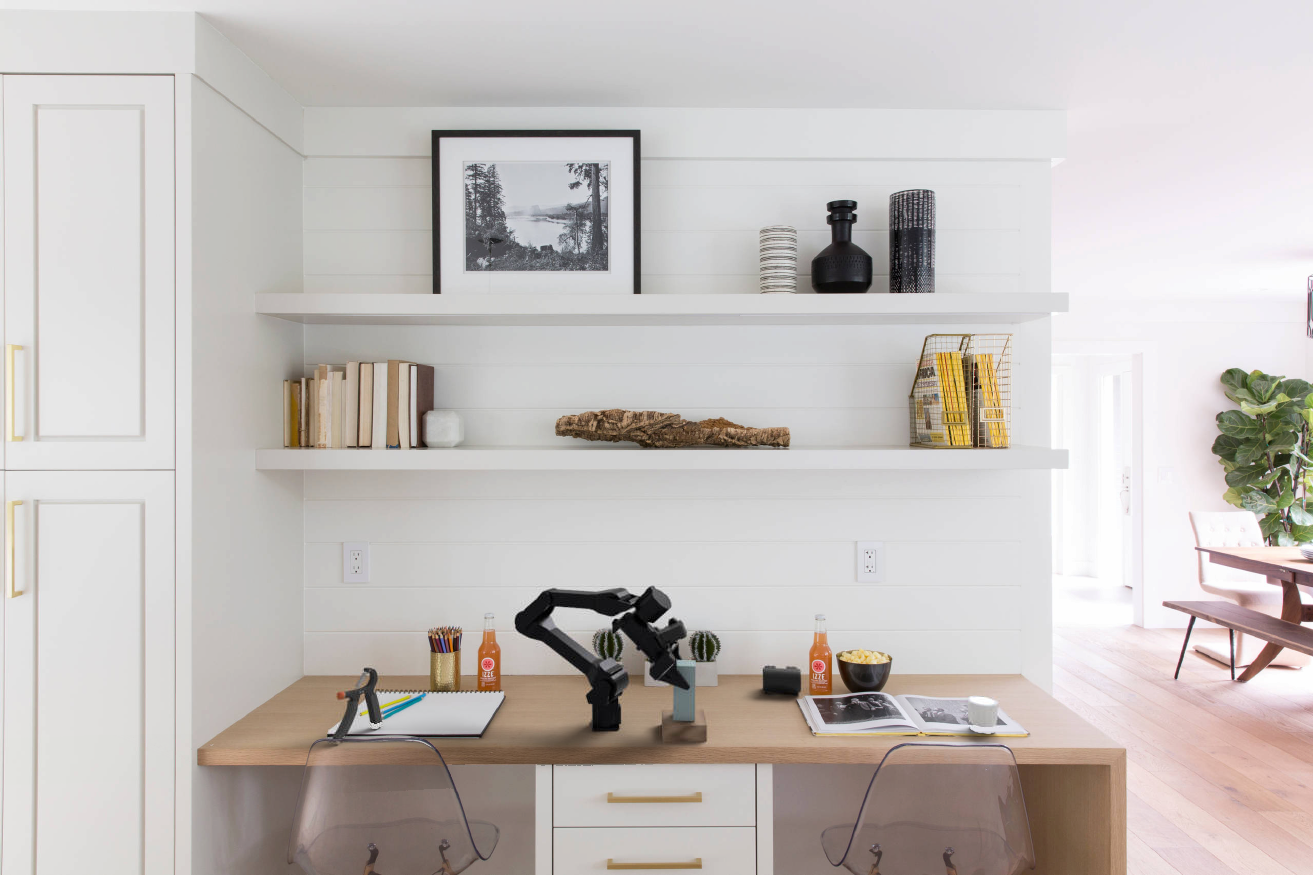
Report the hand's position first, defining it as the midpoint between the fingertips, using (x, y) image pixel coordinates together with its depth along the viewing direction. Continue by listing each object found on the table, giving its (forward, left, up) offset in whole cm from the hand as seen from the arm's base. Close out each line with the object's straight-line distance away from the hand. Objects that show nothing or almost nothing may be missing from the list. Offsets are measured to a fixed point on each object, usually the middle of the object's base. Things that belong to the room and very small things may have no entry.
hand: (689, 682), depth 175 cm
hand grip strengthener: (-76, +6, -12) cm, 78 cm away
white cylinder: (+69, -6, -12) cm, 70 cm away
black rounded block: (+29, +24, -12) cm, 39 cm away
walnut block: (-1, 0, -12) cm, 12 cm away
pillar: (-1, 0, -8) cm, 8 cm away
